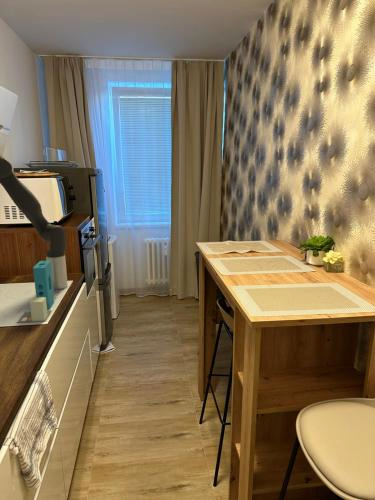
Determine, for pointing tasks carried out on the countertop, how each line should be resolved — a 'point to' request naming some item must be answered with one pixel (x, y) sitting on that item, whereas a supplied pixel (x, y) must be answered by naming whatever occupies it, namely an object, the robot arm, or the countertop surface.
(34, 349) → the countertop surface
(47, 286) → the block
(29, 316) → the marker mat
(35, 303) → the sage block
